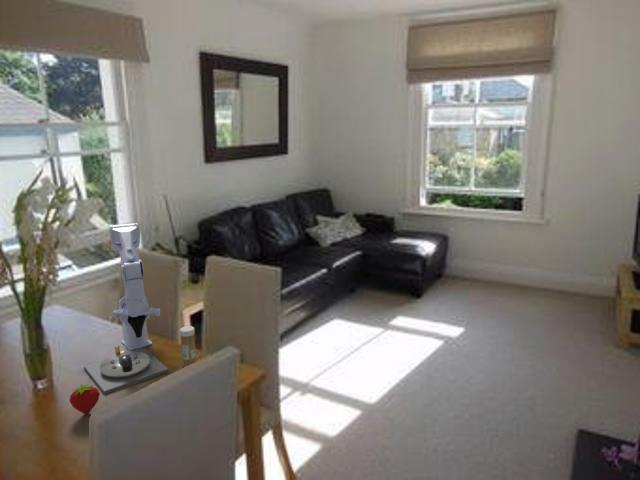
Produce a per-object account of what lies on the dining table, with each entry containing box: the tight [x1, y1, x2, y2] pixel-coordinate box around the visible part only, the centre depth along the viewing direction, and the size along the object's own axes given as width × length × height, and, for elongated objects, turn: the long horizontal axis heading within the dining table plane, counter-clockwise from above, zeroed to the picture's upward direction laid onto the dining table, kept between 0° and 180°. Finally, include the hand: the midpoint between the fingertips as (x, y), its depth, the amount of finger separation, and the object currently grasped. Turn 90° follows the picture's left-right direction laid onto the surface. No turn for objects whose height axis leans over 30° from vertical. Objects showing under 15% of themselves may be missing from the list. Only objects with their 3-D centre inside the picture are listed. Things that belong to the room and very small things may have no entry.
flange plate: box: [100, 350, 150, 379], centre depth 160 cm, size 16×15×5 cm
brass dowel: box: [114, 345, 121, 354], centre depth 166 cm, size 1×1×4 cm
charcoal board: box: [83, 346, 169, 395], centre depth 160 cm, size 20×20×1 cm
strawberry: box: [69, 383, 100, 415], centre depth 136 cm, size 6×8×10 cm
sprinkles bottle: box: [179, 325, 197, 368], centre depth 161 cm, size 5×5×13 cm
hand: (139, 336), depth 163 cm, fingers closed
